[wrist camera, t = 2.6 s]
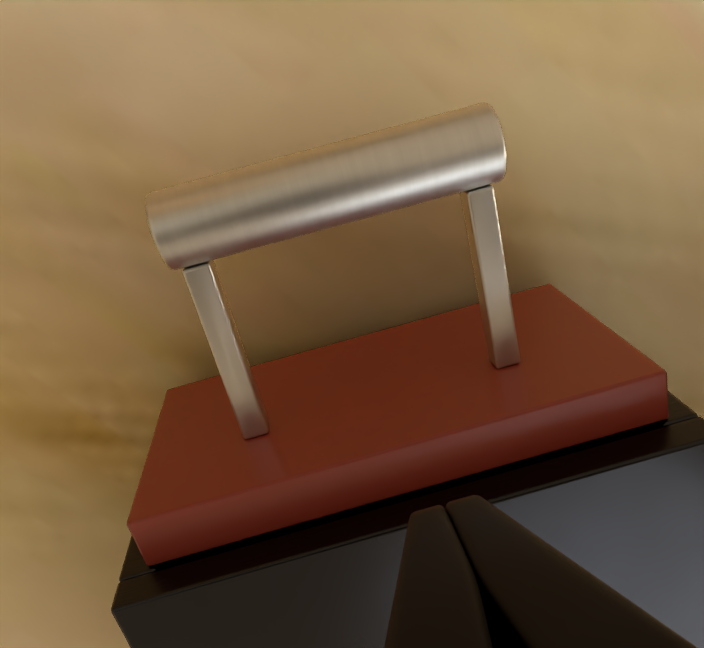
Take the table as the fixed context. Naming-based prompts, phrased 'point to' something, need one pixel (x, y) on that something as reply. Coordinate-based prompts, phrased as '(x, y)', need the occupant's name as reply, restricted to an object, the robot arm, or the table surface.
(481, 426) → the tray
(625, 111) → the table surface
